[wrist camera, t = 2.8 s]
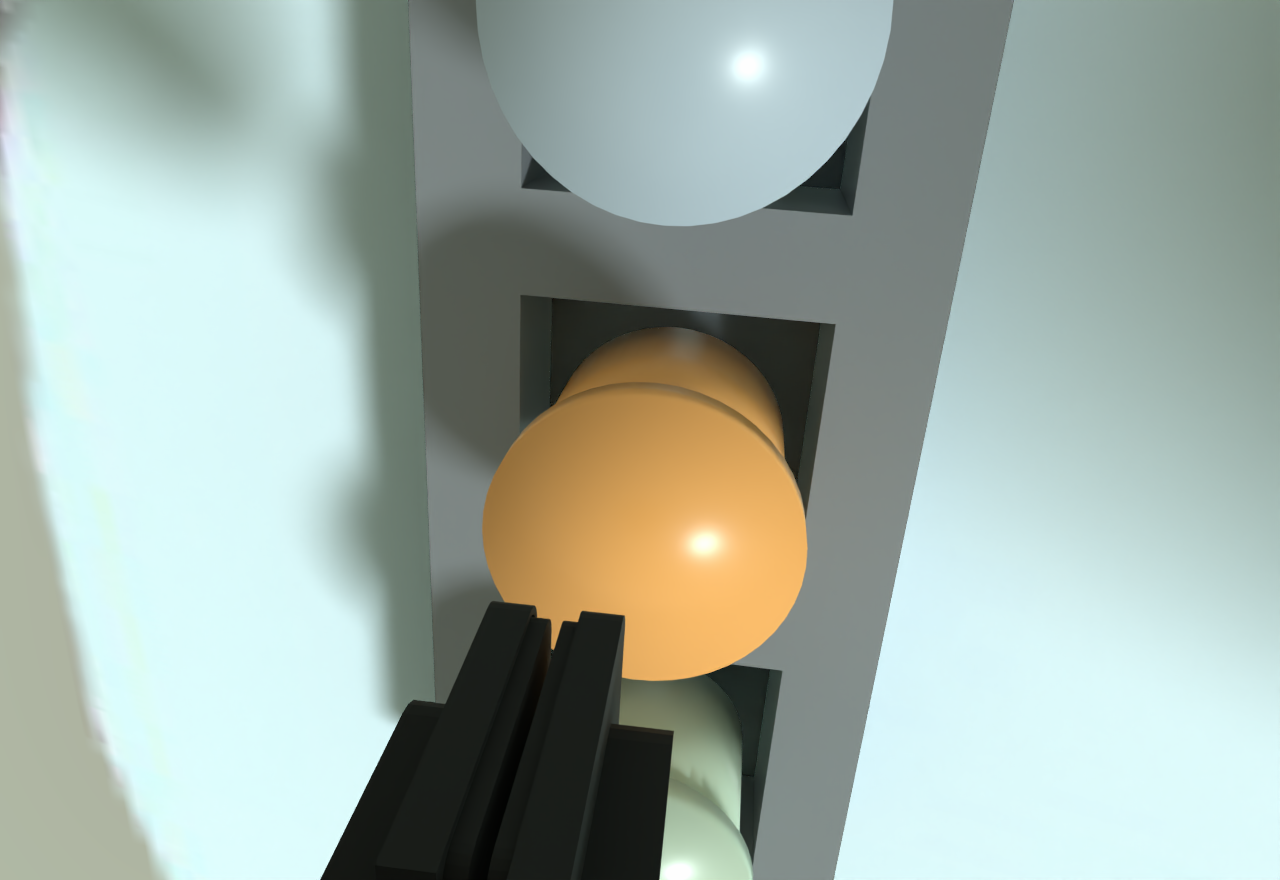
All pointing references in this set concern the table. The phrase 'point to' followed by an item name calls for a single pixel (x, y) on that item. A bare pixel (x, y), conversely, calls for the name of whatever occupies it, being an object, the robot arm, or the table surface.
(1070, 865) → the table surface
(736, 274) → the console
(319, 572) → the table surface
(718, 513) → the plunger orange
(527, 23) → the plunger gray
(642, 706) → the plunger green
